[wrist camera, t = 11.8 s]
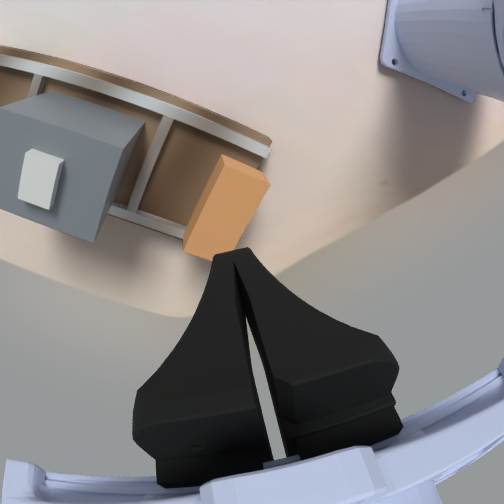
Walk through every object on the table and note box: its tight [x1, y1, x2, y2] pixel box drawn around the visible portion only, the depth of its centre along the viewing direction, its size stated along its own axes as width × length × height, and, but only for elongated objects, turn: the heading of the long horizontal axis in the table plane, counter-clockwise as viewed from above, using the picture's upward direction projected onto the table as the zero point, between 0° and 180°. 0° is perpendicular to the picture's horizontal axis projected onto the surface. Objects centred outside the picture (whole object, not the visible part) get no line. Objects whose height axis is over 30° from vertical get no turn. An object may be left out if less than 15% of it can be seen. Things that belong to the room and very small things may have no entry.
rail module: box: [0, 91, 145, 243], centre depth 13 cm, size 6×4×7 cm
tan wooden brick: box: [183, 154, 270, 261], centre depth 16 cm, size 2×5×2 cm, turn 153°
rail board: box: [0, 45, 272, 240], centre depth 16 cm, size 20×8×2 cm, turn 63°
